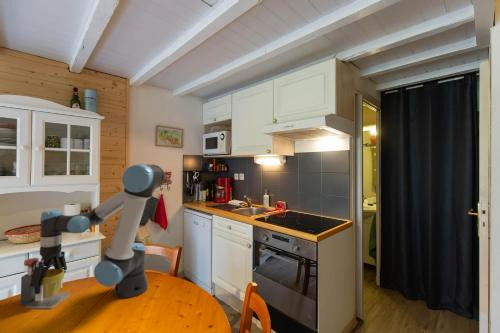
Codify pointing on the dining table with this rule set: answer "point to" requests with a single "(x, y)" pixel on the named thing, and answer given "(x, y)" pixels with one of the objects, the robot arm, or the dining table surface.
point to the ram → (31, 265)
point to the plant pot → (52, 282)
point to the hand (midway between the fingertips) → (49, 293)
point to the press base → (29, 296)
